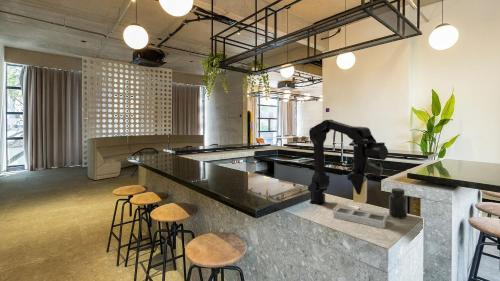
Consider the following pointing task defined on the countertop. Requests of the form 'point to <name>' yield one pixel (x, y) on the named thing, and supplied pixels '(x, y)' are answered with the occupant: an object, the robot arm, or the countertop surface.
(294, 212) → the countertop surface
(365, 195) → the brass peg
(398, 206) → the supplement bottle
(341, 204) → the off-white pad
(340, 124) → the robot arm
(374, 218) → the grey slotted tray
